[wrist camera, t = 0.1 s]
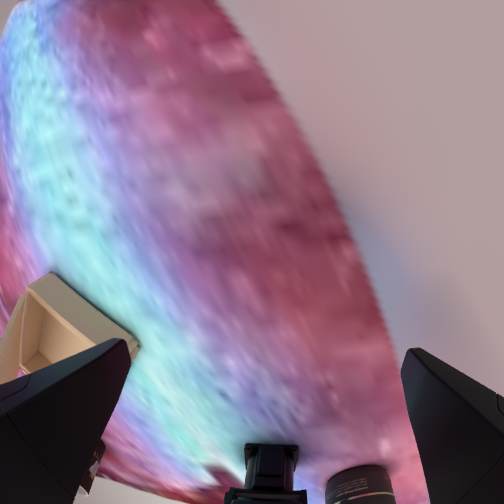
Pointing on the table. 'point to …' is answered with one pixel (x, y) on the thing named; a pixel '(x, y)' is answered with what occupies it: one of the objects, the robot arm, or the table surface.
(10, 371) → the flap
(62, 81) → the table surface
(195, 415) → the table surface
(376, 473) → the jar
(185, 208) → the table surface
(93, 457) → the coffee mug
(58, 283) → the kraft box
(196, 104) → the table surface
